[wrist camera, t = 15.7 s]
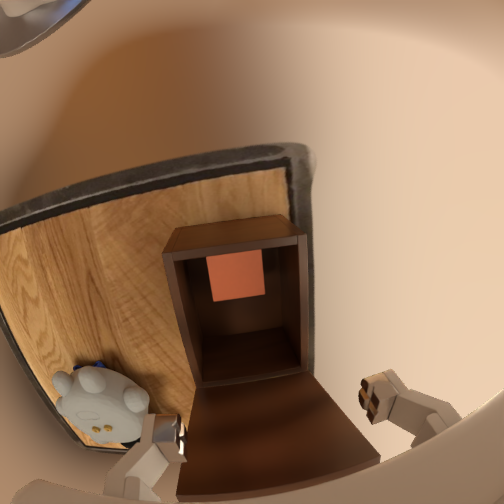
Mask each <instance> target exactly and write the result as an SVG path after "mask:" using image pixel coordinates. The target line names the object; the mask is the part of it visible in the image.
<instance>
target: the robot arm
mask: <svg viewBox="0 0 504 504" xmlns="http://www.w3.org/2000/svg"><path fill="white" fill-rule="evenodd" d="M54 1H56V0H0V5H1V7H2V8H3V10H4V12H5V14H6V15H7V16H9V17H17V16H21V15H23V14H26V13H28V12H30V11H31V10H33V9H35V8H37V7H38V6H40V5H42V4H45V3H50V2H54ZM361 386H362V388H361V389H360V391H359V395H358V397H359V402H360V405H361V407H362V408H363V409H364V410H367V415H366V416H367V417H368V419H369V421H370V422H371V424H372V425H373V424H376V423H379V422H381V421H384V420H387V419H388V420H389V421H390V422H392V423H394V424H396V425H397V426H399V427H401V428H402V429H404V430H406V431H408V432H410V433H411V434H413V435H415V436H416V437H415V438H414V440H413V442H412V444H411V447H412V449H410V450H408V451H406V452H404V453H402V454H400V455H398V456H395V457H393V458H391V459H389V460H386V461H384V462H382V463H379V464H377V465H374V466H372V467H369V468H367V469H364V470H362V471H359V472H356V473H353V474H351V475H348V476H345V477H342V478H339V479H335V480H332V481H329V482H325V483H322V484H318V485H315V486H311V487H307V488H303V489H299V490H294V491H289V492H285V493H280V494H274V495H268V496H262V497H256V498H248V499H240V500H230V501H216V502H161V499H160V497H158V496H157V495H156V494H155V493H154V492H153V491H152V490H151V489H152V488H153V486H154V485H155V483H156V482H157V481H158V479H159V478H160V476H161V475H162V474H163V472H164V471H165V469H166V468H167V466H168V465H169V463H177V462H187V453H188V450H187V449H186V447H185V445H186V444H187V443H188V437H187V430H186V427H185V425H184V424H183V423H182V422H181V417H180V415H179V414H146V415H145V416H144V420H143V426H142V432H141V438H140V443H136V444H135V445H134V446H133V447H132V448H131V449H130V450H129V451H128V452H127V453H126V454H125V455H124V456H123V457H122V458H121V459H120V460H119V461H118V462H117V463H116V464H115V465H114V466H113V467H112V468H111V469H110V470H109V471H108V472H107V475H106V481H105V486H104V492H103V495H100V494H94V493H90V492H85V491H81V490H77V489H73V488H69V487H65V486H61V485H58V484H54V483H51V482H48V481H45V480H42V479H36V480H34V481H32V482H30V483H29V484H27V485H25V486H24V487H23V488H21V489H20V490H18V491H17V492H16V494H15V495H14V497H13V499H12V502H11V503H10V504H504V388H503V389H502V390H501V391H499V392H498V393H497V394H496V395H495V396H493V397H492V398H491V399H489V400H488V401H487V402H486V403H484V404H483V405H482V406H480V407H479V408H477V409H476V410H475V411H473V412H472V413H470V414H469V415H468V416H466V417H465V418H463V419H462V418H461V417H460V415H459V414H458V413H457V412H456V410H455V409H454V408H453V407H452V406H451V404H450V403H448V402H445V401H442V400H439V399H436V398H434V397H431V396H428V395H425V394H423V393H420V392H417V391H415V390H412V389H410V390H408V388H407V387H406V386H405V385H404V383H403V382H402V381H401V380H400V378H399V377H398V376H397V375H396V373H395V372H394V371H393V370H392V369H390V370H387V371H384V372H382V373H378V374H376V375H372V376H370V377H367V378H364V379H362V381H361Z"/></svg>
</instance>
